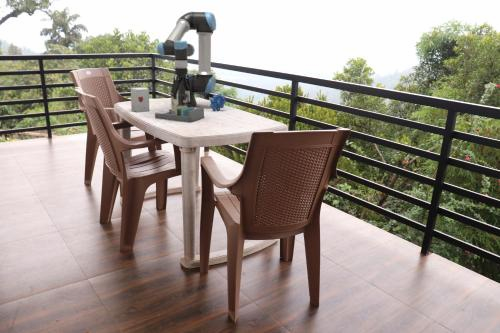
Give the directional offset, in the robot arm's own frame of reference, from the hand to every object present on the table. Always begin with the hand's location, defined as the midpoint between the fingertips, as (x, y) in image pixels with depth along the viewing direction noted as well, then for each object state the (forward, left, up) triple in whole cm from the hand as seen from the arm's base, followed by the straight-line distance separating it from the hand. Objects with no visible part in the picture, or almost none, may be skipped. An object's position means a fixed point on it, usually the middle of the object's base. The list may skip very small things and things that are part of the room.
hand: (181, 102), depth 252 cm
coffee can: (0, -2, -9) cm, 9 cm away
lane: (0, -1, -10) cm, 10 cm away
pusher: (0, +4, -9) cm, 10 cm away
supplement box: (-8, -37, -10) cm, 39 cm away
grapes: (-37, +6, -10) cm, 39 cm away
